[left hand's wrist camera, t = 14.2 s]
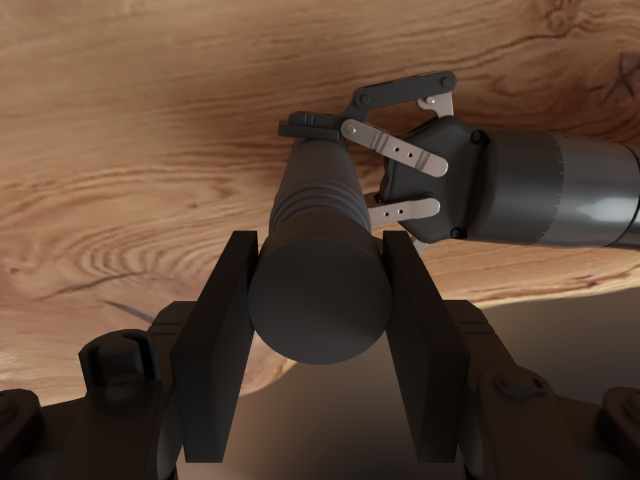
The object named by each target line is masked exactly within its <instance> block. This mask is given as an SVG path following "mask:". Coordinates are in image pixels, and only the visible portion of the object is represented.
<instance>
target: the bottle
mask: <svg viewBox="0 0 640 480" xmlns="http://www.w3.org/2000/svg"><path fill="white" fill-rule="evenodd" d="M311 211H329V212H335V213H339V214H342V215H345V216H348V217H349V218H351V219H353V220H355V221H357V222H358V223H359V224H361V225H362V226H363V227H364V228H365V229H367V230H368V232H369V233H370V234H371V220H370V215H369V211H368V208H367V205H366V202H365V199H364V196H363V193H362V190H361V187H360V184H359V181H358V178H357V175H356V172H355V169H354V166H353V163H352V160H351V157H350V154H349V151H348V148H347V145H346V142H345V140H344V138H340V137H338V141H330V140H321V139H320V140H319V139H308V138H298V137H297V138H296V140H295V143H294V146H293V149H292V152H291V155H290V158H289V161H288V164H287V167H286V170H285V173H284V176H283V179H282V182H281V185H280V188H279V191H278V194H277V197H276V200H275V203H274V206H273V209H272V212H271V215H270V220H269V234H270V233H271V232H272V231H273V230H274V229H275V228H276V227H277V226H278V225H279V224H281V223H282V222H284V221H285V220H287V219H289V218H291V217H293V216H295V215H298V214H301V213H305V212H311Z"/></svg>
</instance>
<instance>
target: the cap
mask: <svg viewBox="0 0 640 480" xmlns="http://www.w3.org/2000/svg"><path fill="white" fill-rule="evenodd" d="M392 297H393V292H392V287H391V283H390V280H389V277H388V274H387V271H386V268H385V265H384V262H383V258H382V255H381V252H380V250H379V247H378V245H377V243H376V241H375V240H374V238H373V236H372V235H371V234H370V233H369V232H368V230H367V229H365V228H364V227H363V226H362V225H361V224H359V223H358V222H357V221H355V220H353V219H351V218H349V217H348V216H345V215H342V214H339V213H335V212H329V211H311V212H305V213H301V214H298V215H295V216H293V217H291V218H289V219H287V220H285V221H284V222H282V223H281V224H279V225H278V226H277V227H276V228H275V229H274V230H273V231H272V232H271V233H270V234H269V235H268V237H267V238H266V240H265V241H264V243H263V245H262V247H261V250H260V253H259V256H258V259H257V262H256V265H255V268H254V271H253V274H252V278H251V281H250V284H249V288H248V308H249V317H250V320H251V322H252V325H253V327H254V329H255V330H256V332H257V334H258V335H259V336H260V337H261V339H262V340H263V341H264V342H265V343H266V344H267V345H268V346H269V347H270V348H272V349H273V350H274V351H276V352H277V353H279V354H281V355H282V356H284V357H287V358H289V359H291V360H294V361H298V362H301V363H307V364H316V365H324V364H334V363H339V362H343V361H346V360H349V359H351V358H354V357H356V356H357V355H360V354H361V353H363V352H364V351H366V350H367V349H368V348H370V347H371V346H372V345H373V344H374V343H375V342H376V341H377V340H378V339H379V338H380V336H381V335H382V334H383V332H384V331H385V329H386V327H387V325H388V323H389V320H390V317H391V311H392Z"/></svg>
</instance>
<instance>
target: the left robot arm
mask: <svg viewBox="0 0 640 480" xmlns="http://www.w3.org/2000/svg"><path fill="white" fill-rule="evenodd" d="M258 256H259V255H258V238H257V231H233V233H232V235H231V237H230V239H229V241H228V243H227V245H226V247H225V249H224V250H223V252H222V254H221V256H220V258H219V260H218V262H217V264H216V266H215V268H214V270H213V271H212V273H211V275H210V277H209V279H208V281H207V283H206V285H205V287H204V289H203V291H202V292H201V294H200V296H199V298H198V300H197V301H174V302H172V303H171V304H170V305H168V306H167V307H165V308H164V309H163V310H161V311H160V312H159V313H158V315H157V317H156V318H155V320H154V321H153V323H152V326H150V327H149V329H148V330H147V331H143V330H140V329H123V330H119V331H114V332H110V333H107V334H105V335H102V336H99V337H97V338H95V339H94V340H92V341H91V342H89V343H88V344H86V345H85V346H84V347H83V348H82V350H81V351H80V352H79V353H78V356H79V360H80V364H81V368H82V372H83V376H84V380H85V384H86V388H87V393H86V395H85V397H82V398H79V399H75V400H71V401H67V402H62V403H57V404H53V405H48V406H44V407H41V405H40V402H39V399H38V396H37V395H36V394H34V393H33V392H32V391H30V390H25V389H11V390H4V391H0V480H178V475H177V468H176V461H177V459H178V456H179V453H180V450H181V448H182V445H183V447H184V454H185V460H186V463H222V461H223V457H224V453H225V449H226V445H227V441H228V437H229V432H230V428H231V424H232V420H233V416H234V412H235V408H236V404H237V400H238V396H239V392H240V388H241V384H242V380H243V376H244V372H245V368H246V364H247V360H248V356H249V352H250V347H251V343H252V339H253V335H254V331H255V329H254V327H253V325H252V322H251V320H250V317H249V308H248V288H249V284H250V281H251V278H252V274H253V271H254V268H255V265H256V262H257V259H258ZM382 258H383V262H384V265H385V268H386V271H387V274H388V277H389V280H390V283H391V287H392V292H393V297H392V311H391V317H390V320H389V323H388V325H387V327H386V329H385V330H386V334H387V338H388V342H389V346H390V350H391V354H392V359H393V363H394V367H395V371H396V375H397V379H398V383H399V387H400V391H401V395H402V399H403V403H404V407H405V411H406V415H407V419H408V423H409V427H410V431H411V435H412V439H413V443H414V447H415V452H416V456H417V460H418V463H454V462H455V456H456V449H457V443H458V445H459V447H460V450H461V453H462V455H463V458H464V461H465V462H464V468H463V474H462V480H640V389H637V388H628V387H617V388H612V389H609V390H608V391H607V392H606V393H604V394H603V397H602V400H601V403H600V405H596V404H591V403H587V402H582V401H578V400H573V399H568V398H565V397H561V396H558V395H555V394H554V392H553V390H552V388H551V387H550V385H549V384H548V383H547V381H546V380H544V379H543V378H542V377H540V376H539V375H538V374H536V373H535V372H533V371H530V370H528V369H526V368H524V367H521V366H517V364H516V363H515V361H514V360H513V358H512V357H511V355H510V354H509V352H508V351H507V349H506V348H505V346H504V345H503V343H502V342H501V340H500V339H499V337H498V336H497V334H495V331H494V329H493V328H492V326H491V325H490V324H488V320H487V319H486V317H485V316H484V314H483V313H482V311H481V310H480V309H479V308H477V307H476V306H474V305H473V304H471V303H470V302H469V301H467V300H443V299H442V298H441V296H440V294H439V292H438V290H437V288H436V286H435V284H434V282H433V280H432V278H431V277H430V275H429V273H428V271H427V269H426V267H425V265H424V263H423V261H422V259H421V258H420V256H419V254H418V252H417V250H416V248H415V246H414V244H413V242H412V240H411V238H410V237H409V235H408V233H407V231H383V243H382Z"/></svg>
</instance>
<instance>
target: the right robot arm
mask: <svg viewBox="0 0 640 480" xmlns="http://www.w3.org/2000/svg"><path fill="white" fill-rule="evenodd" d="M455 86H456V77H455V75H454V74H453V73H452V72H450V71H433V72H428V73H423V74H419V75H414V76H410V77H405V78H401V79H396V80H391V81H387V82H382V83H378V84H373V85H369V86H364V87H360V88H357V89H356V90H355V91H354V93H353V96H352V99H351V101H350V103H349V105H348V107H347V109H346V110H345V111H344V112H343V113H341V114H337V115H334V114H324V113H313V112H303V111H297V112H294V113H291V114H290V115H289V121H285V120H283V121H280V122H279V129H278V135H280V136H287V137H298V138H308V139H319V140H320V139H321V140H330V141H338V137H340V138H346V139H348V140H351V141H353V142H356V143H358V144H360V145H363V146H365V147H368V148H370V149H372V150H374V151H376V152H377V153H380V154H382V155H384V168H385V174H384V177H383V179H382V181H381V184H380V190H379V191H377V192H372V193H367V194H364V195H363V196H364V199H365V202H366V205H367V208H368V211H369V215H370V220H371V226H375V225H381V224H386V223H391V222H396V221H397V222H398V223H399V224H400V225H401V226H402V227H404V228H405V229H406V230H407V231H408V232H409V233H410V234H412V235H413V236H412V237H411V240H412V242H413V244H414V246H415V248H416V250H417V252H418V254H419V256H420V257H421V256H422V254H423V252H424V250H425V248H426V246H427V244H432V243H436V242H438V241H441V240H444V239H458V240H465V241H477V242H488V243H500V244H512V245H523V246H535V247H547V248H561V249H571V248H602V249H614V250H625V251H638V252H640V145H639V144H628V143H616V142H610V141H605V140H601V139H597V138H593V137H589V136H583V135H575V134H565V133H563V132H560V131H547V132H544V131H534V130H523V129H512V128H502V127H491V126H481V125H472V124H467V123H465V122H464V121H463V120H461V119H460V118H459V117H457V116H454V115H453V105H452V94H451V91H452V90H453V89H454V88H455ZM412 100H415V103H416V105H417V106H418V107H420V108H422V109H431V110H432V111H433V112H434V114H435V117H433V118H432V119H430V120H428V121H426V122H425V123H423V124H421V125H420V126H418V127H416V128H414V129H413V130H411V131H409V132H407V133H406V134H404V135H402V136H400V135H398V134H395V133H393V132H390V131H388V130H386V129H383V128H381V127H378V126H375V125H373V124H370V123H368V122H365V120H366V118H367V116H368V114H369V112H370V110H371V109H374V108H379V107H384V106H388V105H393V104H398V103H402V102H407V101H412ZM276 197H277V194H276ZM276 197H275V200H276ZM275 200H274V203H275ZM380 200H381V201H380ZM385 213H387V214H385ZM373 238H374V240H375V241H376V243H377V245H378V247H379V250H380V252H381V255H382V243H383V240H382V239H379V238H377V237H374V236H373Z"/></svg>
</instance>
